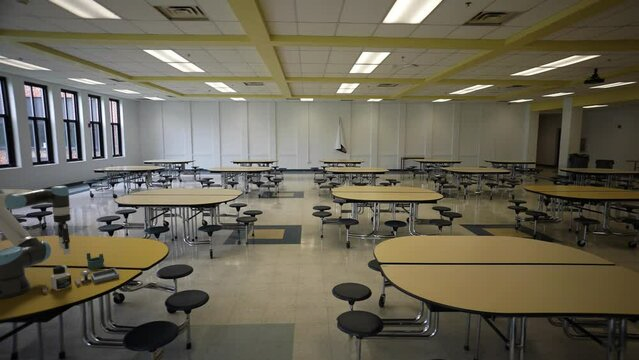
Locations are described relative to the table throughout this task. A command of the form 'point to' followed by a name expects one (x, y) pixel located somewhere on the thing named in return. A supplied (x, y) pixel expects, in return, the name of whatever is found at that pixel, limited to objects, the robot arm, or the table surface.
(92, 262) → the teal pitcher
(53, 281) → the medicine bottle
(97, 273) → the tray
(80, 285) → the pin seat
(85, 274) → the knob
